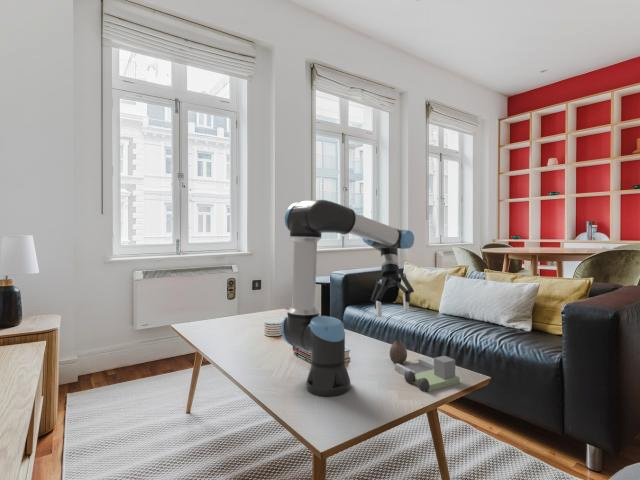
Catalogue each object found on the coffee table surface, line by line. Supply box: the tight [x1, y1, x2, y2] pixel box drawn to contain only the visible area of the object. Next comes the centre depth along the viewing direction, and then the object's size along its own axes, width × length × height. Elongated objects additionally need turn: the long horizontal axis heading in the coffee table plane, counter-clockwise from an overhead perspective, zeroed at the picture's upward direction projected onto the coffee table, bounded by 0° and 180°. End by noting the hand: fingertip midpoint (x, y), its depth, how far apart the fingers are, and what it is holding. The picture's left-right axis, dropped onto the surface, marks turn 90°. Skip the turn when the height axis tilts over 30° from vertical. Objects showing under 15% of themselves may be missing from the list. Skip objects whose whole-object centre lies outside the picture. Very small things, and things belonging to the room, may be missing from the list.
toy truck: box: [403, 355, 461, 392], centre depth 135 cm, size 11×16×8 cm
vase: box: [389, 339, 408, 365], centre depth 155 cm, size 7×7×9 cm
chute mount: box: [394, 357, 434, 376], centre depth 145 cm, size 10×13×2 cm
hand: (392, 313), depth 160 cm, fingers open, 13 cm apart
